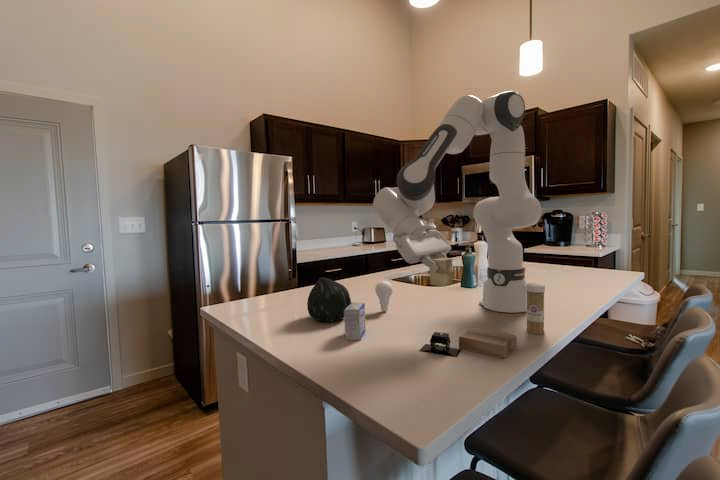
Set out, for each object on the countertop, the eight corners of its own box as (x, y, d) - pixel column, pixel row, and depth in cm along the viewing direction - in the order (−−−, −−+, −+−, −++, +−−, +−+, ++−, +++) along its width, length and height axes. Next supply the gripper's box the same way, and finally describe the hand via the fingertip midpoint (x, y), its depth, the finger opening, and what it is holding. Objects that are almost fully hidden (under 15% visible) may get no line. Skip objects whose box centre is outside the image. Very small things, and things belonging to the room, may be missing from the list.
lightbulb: (375, 309, 126) (374, 279, 125) (392, 309, 125) (391, 278, 125) (376, 314, 120) (375, 282, 119) (393, 313, 119) (392, 282, 119)
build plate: (468, 351, 87) (468, 333, 86) (462, 362, 80) (462, 343, 80) (421, 344, 93) (420, 327, 92) (411, 353, 86) (411, 335, 86)
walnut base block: (474, 337, 94) (474, 326, 94) (516, 346, 87) (516, 335, 87) (459, 348, 87) (459, 336, 87) (503, 358, 80) (503, 346, 80)
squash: (360, 297, 123) (331, 266, 122) (356, 310, 108) (323, 275, 107) (332, 322, 125) (303, 292, 124) (324, 339, 110) (291, 305, 110)
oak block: (438, 281, 98) (437, 257, 98) (452, 283, 95) (452, 258, 95) (430, 284, 95) (429, 259, 95) (444, 286, 92) (444, 260, 92)
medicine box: (360, 340, 95) (359, 309, 94) (344, 340, 96) (343, 309, 95) (365, 331, 103) (364, 302, 102) (351, 330, 104) (350, 302, 103)
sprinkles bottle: (526, 333, 96) (526, 285, 95) (526, 328, 100) (526, 282, 99) (545, 335, 94) (545, 286, 93) (543, 329, 98) (544, 282, 97)
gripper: (396, 226, 91) (430, 266, 85) (436, 222, 106) (467, 256, 100) (383, 243, 94) (415, 282, 89) (424, 237, 109) (453, 270, 104)
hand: (443, 268), depth 95 cm, fingers closed on oak block, 4 cm apart
